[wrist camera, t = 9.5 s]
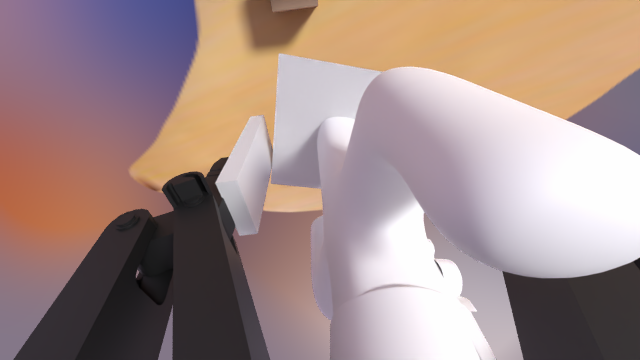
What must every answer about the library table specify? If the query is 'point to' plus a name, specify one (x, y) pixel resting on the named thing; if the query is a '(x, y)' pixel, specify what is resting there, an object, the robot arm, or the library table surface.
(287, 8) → the walnut block
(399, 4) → the library table surface
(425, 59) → the library table surface
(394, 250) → the figurine
